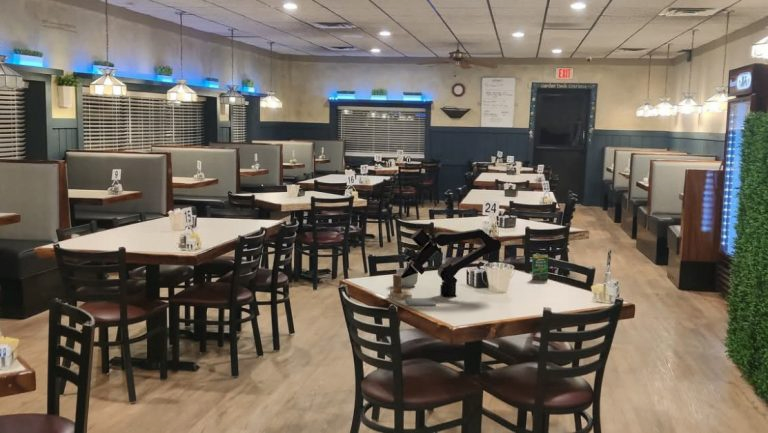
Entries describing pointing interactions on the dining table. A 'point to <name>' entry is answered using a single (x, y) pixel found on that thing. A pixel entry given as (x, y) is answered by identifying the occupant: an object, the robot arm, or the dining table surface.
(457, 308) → the dining table surface
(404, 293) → the oak holder
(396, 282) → the walnut block
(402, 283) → the teacup
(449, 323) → the dining table surface
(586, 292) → the dining table surface
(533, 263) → the coffee box
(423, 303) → the grey mat
